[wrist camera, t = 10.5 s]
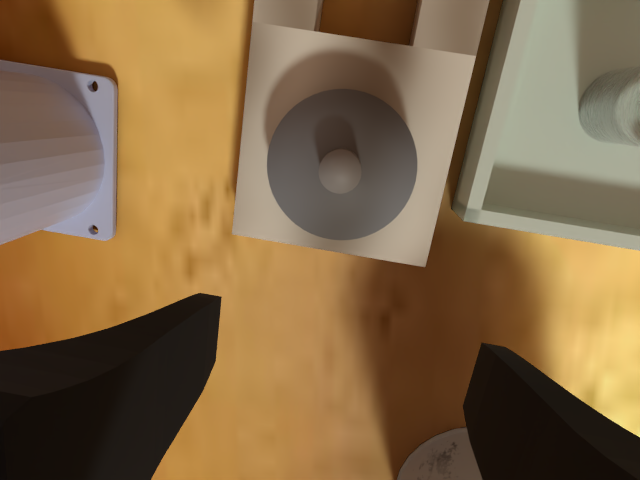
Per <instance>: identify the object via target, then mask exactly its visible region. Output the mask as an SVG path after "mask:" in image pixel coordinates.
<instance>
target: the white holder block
mask: <svg viewBox="0 0 640 480" xmlns="http://www.w3.org/2000/svg"><path fill="white" fill-rule="evenodd" d="M488 4H489V0H418V2H417V7H416V12H415V17H414V23H413V28H412V33H411V38H410V43H409V46H407V45H401V44H394V43H388V42H381V41H374V40H368V39H361V38H355V37H348V36H342V35H335V34H329V33H322V32H319V29H320V22H321V14H322V7H323V0H254V10H253V21H252V31H251V42H250V52H249V63H248V73H247V84H246V94H245V105H244V115H243V125H242V136H241V146H240V157H239V167H238V178H237V188H236V199H235V209H234V220H233V230H232V234H234V235H240V236H246V237H251V238H257V239H263V240H269V241H275V242H281V243H286V244H292V245H298V246H304V247H310V248H316V249H321V250H327V251H333V252H339V253H345V254H351V255H356V256H362V257H368V258H374V259H380V260H386V261H391V262H397V263H403V264H409V265H415V266H421V267H426V262H427V258H428V254H429V250H430V246H431V242H432V237H433V233H434V229H435V225H436V221H437V217H438V213H439V208H440V204H441V200H442V196H443V192H444V188H445V183H446V179H447V175H448V171H449V167H450V163H451V158H452V154H453V150H454V146H455V142H456V138H457V133H458V129H459V125H460V121H461V117H462V113H463V108H464V104H465V100H466V96H467V92H468V88H469V84H470V79H471V75H472V71H473V67H474V63H475V59H476V54H477V50H478V46H479V42H480V38H481V34H482V29H483V25H484V21H485V17H486V13H487V9H488Z"/></svg>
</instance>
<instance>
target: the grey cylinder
mask: <svg viewBox="0 0 640 480" xmlns="http://www.w3.org/2000/svg"><path fill="white" fill-rule="evenodd" d="M397 480H483V479H482V477H481V474H480V471H479V468H478V465H477V462H476V459H475V456H474V453H473V450H472V447H471V444H470V441H469V436H468V431H467V427H464V428H458V429H453V430H450V431H447V432H444V433H441V434H438V435H436V436H434V437H432V438H431V439H429V440H427V441H426V442H424V443H422V444H421V445H420V446H419V447H418V448H417V449H415V450H414V451H413V452H412V453H411V454H410V455H409V456H408V458H407V459H406V461H405V463H404V464H403V466H402V467H401V469H400V472H399V475H398V478H397Z"/></svg>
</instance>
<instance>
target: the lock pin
mask: <svg viewBox="0 0 640 480" xmlns="http://www.w3.org/2000/svg"><path fill="white" fill-rule="evenodd" d="M578 116H579V121H580V124H581V126H582V128H583V130H584V131H585V133H586V134H587V135H588V136H590V137H591V138H593V139H595V140H597V141H600V142H605V143H613V144H621V145H629V146H637V147H640V66H635V67H629V68H623V69H617V70H612V71H609V72H607V73H605V74H603V75H601V76H599V77H598V78H596V79H595V80H594V81H593V82H592V83H591V84H590V85H589V86H588V87H587V89H586V90H585V92H584V93H583V95H582V98H581V100H580V104H579V110H578Z"/></svg>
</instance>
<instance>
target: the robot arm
mask: <svg viewBox="0 0 640 480" xmlns="http://www.w3.org/2000/svg"><path fill="white" fill-rule="evenodd" d="M94 81H96V82H97V84H98V90H97V91H96V92H95V91H94V90H93V87H92V84H93V82H94ZM117 99H118V89H117V85H116V83H115V81H114V80H113V79H111V78H109V77H105V76H99V75H93V74H86V73H80V72H74V71H67V70H61V69H55V68H49V67H42V66H36V65H30V64H24V63H17V62H11V61H5V60H0V245H1V244H4V243H7V242H9V241H12V240H15V239H17V238H20V237H23V236H25V235H28V234H31V233H33V232H36V231H39V230H46V231H51V232H57V233H63V234H69V235H74V236H80V237H86V238H92V239H97V240H103V241H105V240H109V239H111V238H113V237H114V236H115V233H116V183H117ZM93 225H95V226H96V227H97V228H98V233H97V232H95V231H94V230H93ZM220 307H221V297H220V296H214V295H208V294H203V293H198V294H195V295H192V296H190V297H187V298H185V299H182V300H180V301H177V302H175V303H173V304H170V305H168V306H166V307H163V308H161V309H159V310H156V311H154V312H151V313H149V314H146V315H144V316H141V317H138V318H136V319H133V320H130V321H127V322H125V323H122V324H119V325H117V326H114V327H111V328H108V329H104V330H101V331H98V332H94V333H90V334H87V335H83V336H79V337H75V338H71V339H67V340H62V341H56V342H51V343H46V344H41V345H36V346H31V347H25V348H19V349H12V350H5V351H0V480H151V478H152V476H153V474H154V473H155V471H156V469H157V467H158V465H159V463H160V462H161V460H162V458H163V456H164V455H165V453H166V451H167V450H168V448H169V446H170V445H171V443H172V441H173V440H174V438H175V437H176V435H177V433H178V432H179V430H180V428H181V427H182V425H183V423H184V422H185V420H186V418H187V417H188V415H189V413H190V412H191V410H192V408H193V407H194V405H195V403H196V402H197V400H198V398H199V397H200V395H201V393H202V391H203V389H204V387H205V385H206V382H207V380H208V378H209V376H210V373H211V371H212V368H213V366H214V363H215V361H216V351H217V340H218V329H219V318H220ZM463 410H464V415H465V421H466V427H467V431H468V436H469V441H470V444H471V447H472V450H473V453H474V456H475V459H476V462H477V465H478V468H479V471H480V474H481V477H482V479H483V480H640V437H638V436H636V435H635V434H633V433H631V432H629V431H628V430H626V429H624V428H623V427H621V426H619V425H618V424H616V423H614V422H613V421H611V420H610V419H608V418H606V417H605V416H603V415H602V414H600V413H599V412H597V411H596V410H594V409H593V408H591V407H590V406H588V405H587V404H585V403H584V402H582V401H581V400H580V399H578V398H577V397H575V396H574V395H573V394H571V393H570V392H568V391H567V390H565V389H564V388H563V387H561V386H560V385H559V384H557V383H556V382H554V381H553V380H552V379H550V378H549V377H548V376H546V375H545V374H544V373H542V372H541V371H540V370H538V369H537V368H535V367H534V366H533V365H531V364H530V363H529V362H527V361H526V360H524V359H523V358H522V357H520V356H519V355H517V354H516V353H514V352H513V351H511V350H509V349H508V348H506V347H503V346H497V345H491V344H486V343H482V344H481V347H480V350H479V354H478V357H477V360H476V364H475V367H474V371H473V374H472V377H471V381H470V384H469V387H468V391H467V394H466V397H465V401H464V404H463Z"/></svg>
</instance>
